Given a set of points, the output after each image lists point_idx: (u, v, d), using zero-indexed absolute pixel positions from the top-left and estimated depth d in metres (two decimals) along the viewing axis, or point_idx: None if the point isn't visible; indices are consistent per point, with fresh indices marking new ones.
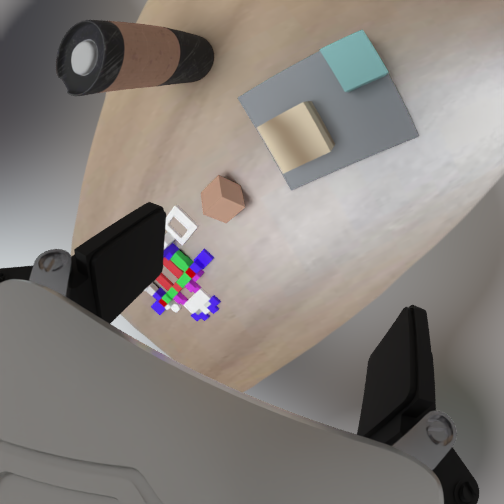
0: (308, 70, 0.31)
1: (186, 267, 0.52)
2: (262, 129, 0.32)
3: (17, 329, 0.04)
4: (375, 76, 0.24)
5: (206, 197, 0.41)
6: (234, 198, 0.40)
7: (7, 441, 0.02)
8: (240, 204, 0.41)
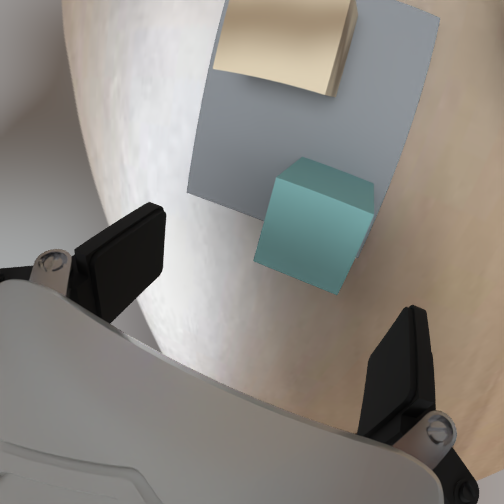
0: (380, 140, 0.17)
1: None
2: None
3: (17, 329, 0.04)
4: (261, 240, 0.17)
5: None
6: None
7: (7, 441, 0.02)
8: None
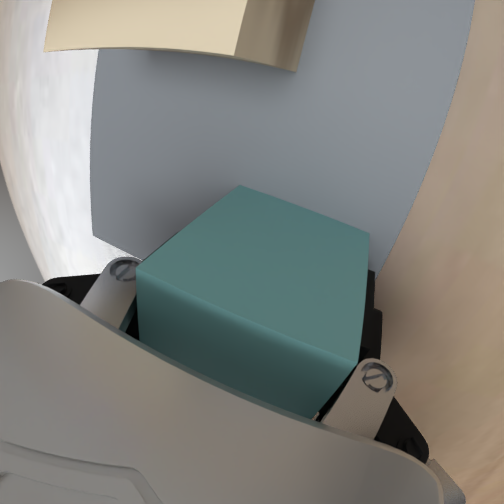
0: (385, 153, 0.09)
1: None
2: None
3: (17, 329, 0.04)
4: None
5: None
6: None
7: (7, 441, 0.02)
8: None
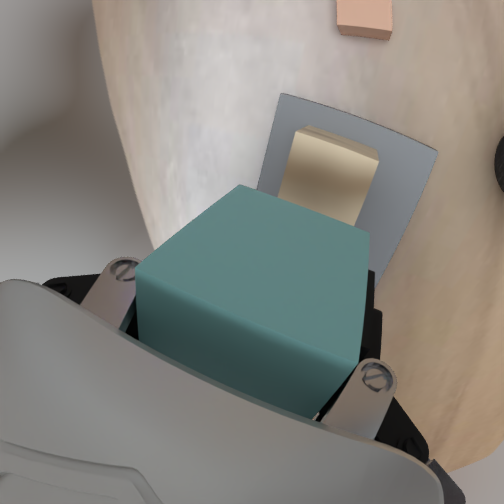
0: (381, 242, 0.26)
1: None
2: (369, 165, 0.19)
3: (17, 329, 0.04)
4: None
5: None
6: (362, 28, 0.17)
7: (7, 441, 0.02)
8: (347, 25, 0.17)
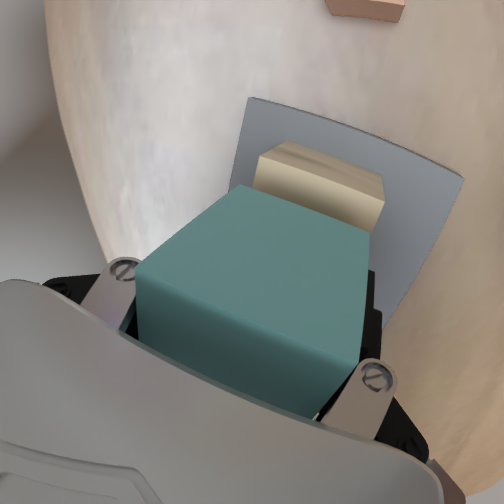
0: (382, 294, 0.20)
1: None
2: (370, 207, 0.13)
3: (17, 329, 0.04)
4: None
5: None
6: (360, 2, 0.11)
7: (7, 441, 0.02)
8: None
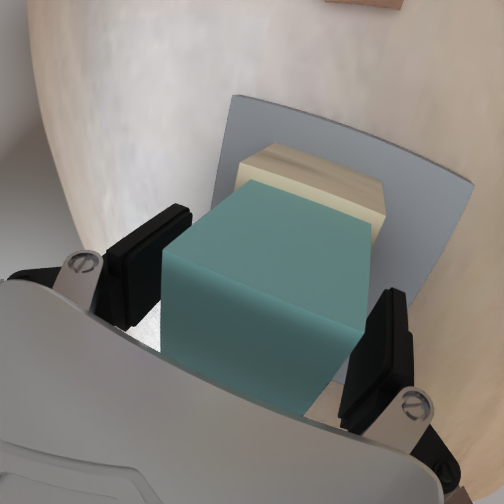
0: None
1: None
2: (368, 222, 0.11)
3: (17, 329, 0.04)
4: (164, 344, 0.09)
5: None
6: None
7: (7, 441, 0.02)
8: None
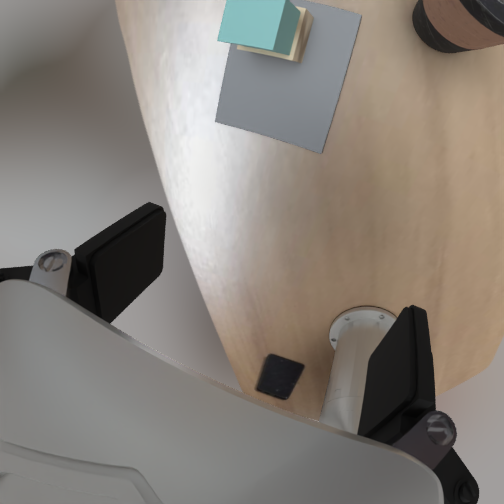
0: (328, 84, 0.30)
1: None
2: None
3: (17, 329, 0.04)
4: (222, 26, 0.21)
5: None
6: None
7: (7, 441, 0.02)
8: None
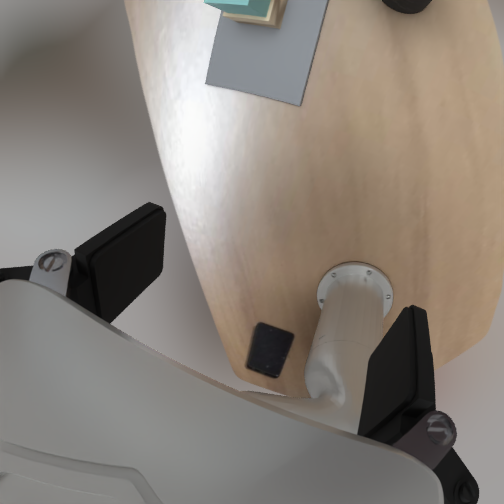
0: (303, 45, 0.32)
1: None
2: None
3: (17, 329, 0.04)
4: None
5: None
6: None
7: (7, 441, 0.02)
8: None
